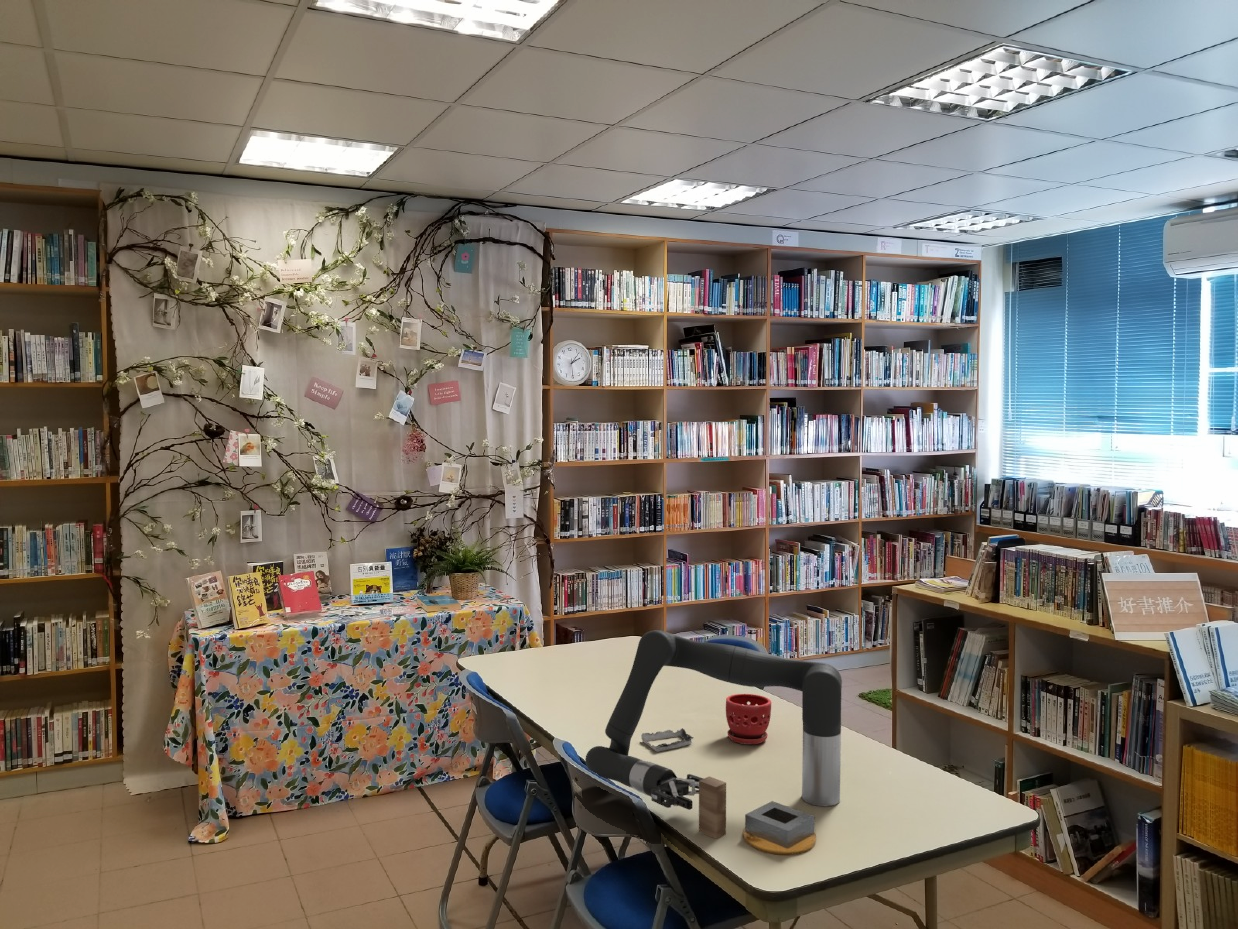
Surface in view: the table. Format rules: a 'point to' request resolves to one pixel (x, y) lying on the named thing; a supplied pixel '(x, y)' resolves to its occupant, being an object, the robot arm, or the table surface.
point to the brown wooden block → (712, 807)
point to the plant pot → (748, 718)
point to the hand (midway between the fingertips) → (703, 799)
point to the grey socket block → (779, 829)
